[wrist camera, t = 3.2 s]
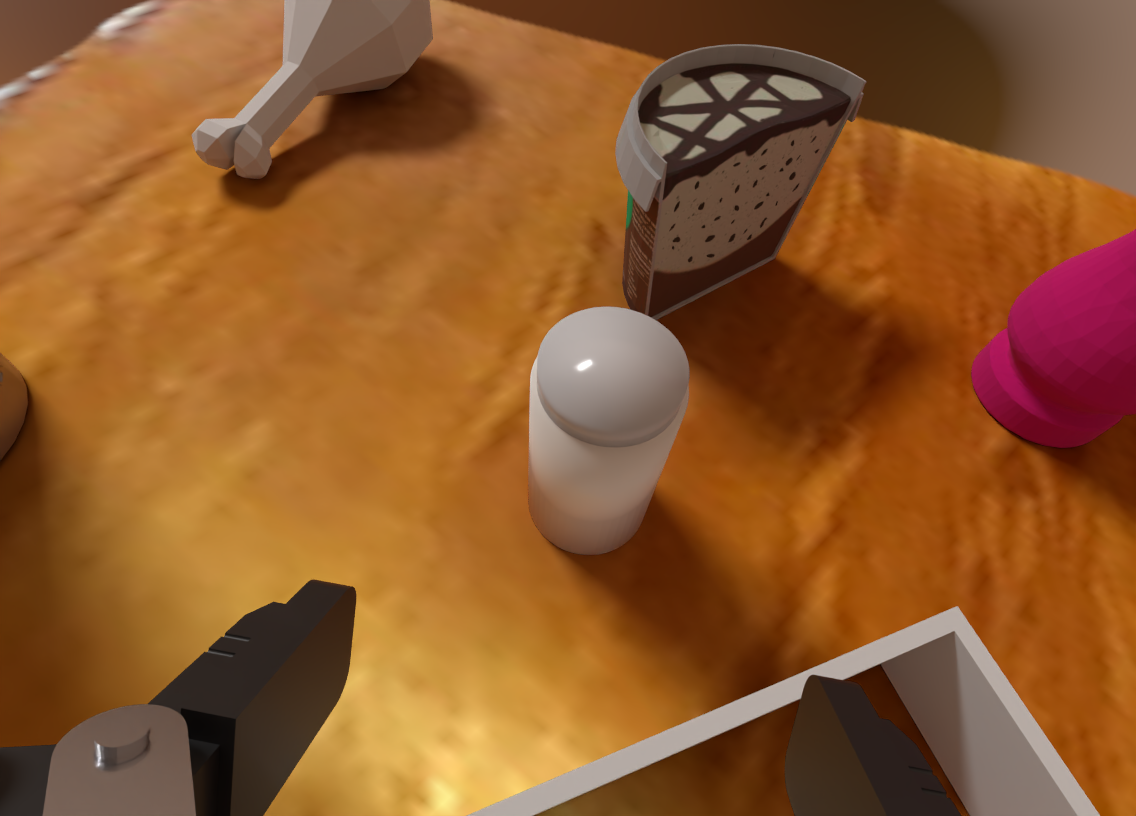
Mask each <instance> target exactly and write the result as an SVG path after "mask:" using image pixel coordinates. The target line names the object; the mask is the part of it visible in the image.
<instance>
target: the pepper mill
mask: <svg viewBox="0 0 1136 816" xmlns="http://www.w3.org/2000/svg"><path fill="white" fill-rule="evenodd" d="M971 376H972V382H973V387H974V390H975V392H976V394H977V396H978V398H979V400H980V401H981V403H982V404H983V405H984V407H985V408H986V410H987V411H988V412H989V413H990V414H991V415H992V416H993V417H994V418H995V419H996V420H997V421H999V422H1000V423H1001V424H1002V425H1003V426H1004V427H1005V428H1007V429H1009V430H1010V431H1012V432H1014V433H1015V434H1017V435H1019V436H1021V437H1022V438H1024V439H1026V440H1029V441H1032V442H1035V443H1038V444H1041V445H1044V446H1051V447H1058V448H1069V447H1076V446H1080V445H1083V444H1086V443H1088V442H1090V441H1092V440H1093V439H1095V438H1096V437H1098V436H1099V435H1101V434H1102V433H1103V432H1105V431H1106V430H1108V429H1109V428H1111V427H1112V426H1114V425H1115V424H1117V423H1118V422H1119V421H1120V420H1121V419H1122V417H1123V416H1124V415H1131V414H1136V229H1135V230H1134V231H1132V232H1130V233H1129V234H1126V235H1124V236H1122V237H1120V238H1118V239H1116V240H1114V241H1111V242H1109V243H1107V244H1105V245H1102V246H1100V247H1097V248H1094V249H1092V250H1089V251H1087V252H1084V253H1082V254H1080V255H1077V256H1075V257H1073V258H1070V259H1068V260H1066V261H1065V262H1063V263H1061V264H1059V265H1058V266H1056V267H1054V268H1053V269H1051V270H1049V271H1047V272H1046V273H1044V274H1043V275H1042V276H1040V277H1039V278H1038V279H1037V280H1035V281H1034V282H1033V283H1032V284H1031V285H1030V286H1029V287H1028V288H1026V289H1025V290H1024V291H1023V292H1022V293H1021V294H1020V295H1019V297H1018V298H1017V299H1016V301H1015V302H1014V304H1013V306H1012V307H1011V310H1010V313H1009V317H1008V328H1006V329H1004V330H1002V331H1001V332H1000V333H998V334H997V335H996V336H995V337H994V338H993V339H992V340H991V341H990V342H989V343H988V344H987V345H986V347H985V348H984V349H983V350H982V351H981V352H980V353H979V354H978V355H977V356H976V358H975V360H974V362H973V366H972V372H971Z"/></svg>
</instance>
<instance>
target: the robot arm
mask: <svg viewBox="0 0 1136 816" xmlns="http://www.w3.org/2000/svg"><path fill="white" fill-rule="evenodd" d="M27 406H28V398H27V386H26V384H25V382H24V380H23V378H22V375H21V373H20V372H19V371H18V370H17V368H16V367H15V366H14V365H13V364H12V363H11V362H10V361H9V360H8V359H7V358H6V357H4V356H3V355H2V354H1V353H0V461H1V459H2V458H3V457H4V455H5V454H6V453H7V451H8V450H9V449H10V447H11V446H12V444H13V443H14V442H15V440H16V438H17V436H18V433H19V431H20V429H21V427H22V425H23V423H24V420H25V415H26V410H27ZM355 607H356V591H355V588H354V587H351V586H346V585H340V584H335V583H330V582H324V581H319V580H310V581H309V582H308V583H306V584H305V585H304V586H303V587H302V588H301V589H300V590H299V591H298V592H297V593H296V594H295V595H294V596H293V597H292V598H291V599H290V600H289V601H288V602H287V603H286V604H282V603H277V602H272V603H270V604H268V605H266V606H264V607H261V608H259V609H257V610H255V611H253V612H251V613H248V614H246V615H245V616H244V617H242V618H241V619H240V620H239V621H238V622H237V623H236V624H235V625H234V626H233V627H231V628H230V629H229V630H228V631H227V632H226V633H225V636H224V637H221V638H219V639H218V640H217V641H216V642H215V643H214V644H213V645H212V646H211V647H210V648H209V650H208V652H204V653H203V654H202V655H201V656H200V657H199V658H197V659H196V660H195V661H194V662H193V663H192V664H191V665H190V666H189V667H188V668H187V669H185V670H184V671H183V672H182V673H181V674H180V675H179V676H178V677H177V678H176V679H174V680H173V681H172V682H171V683H170V684H169V685H168V686H167V687H166V688H165V689H163V690H162V691H161V692H160V693H159V694H158V695H157V696H156V697H155V698H154V699H153V700H151V701H150V702H149V703H148V704H141V705H131V706H124V707H120V708H116V709H112V710H109V711H106V712H103V713H100V714H98V715H96V716H93V717H91V718H89V719H87V720H85V721H84V722H82V723H80V724H79V725H77V726H76V727H74V728H73V729H71V730H70V731H69V732H68V733H67V734H66V735H65V736H64V737H63V738H62V739H61V740H60V741H59V742H58V744H55V745H41V746H22V747H2V748H0V816H263V815H264V814H265V812H266V811H267V809H268V808H269V806H270V804H271V803H272V801H273V800H274V798H275V797H276V795H277V794H278V792H279V791H280V789H281V788H282V786H283V785H284V783H285V782H286V780H287V779H288V777H289V776H290V774H291V772H292V771H293V769H294V768H295V766H296V765H297V763H298V762H299V760H300V759H301V757H302V756H303V754H304V753H305V751H306V750H307V748H308V747H309V745H310V744H311V742H312V740H313V739H314V737H315V736H316V734H317V733H318V731H319V730H320V728H321V727H322V725H323V724H324V722H325V721H326V719H327V718H328V716H329V715H330V713H331V712H332V710H333V708H334V707H335V705H336V704H337V702H338V700H339V698H340V696H341V694H342V691H343V689H344V686H345V683H346V680H347V676H348V672H349V666H350V657H351V647H352V637H353V627H354V617H355ZM785 783H786V789H787V793H788V796H789V800H790V803H791V806H792V809H793V812H794V815H795V816H961V815H960V813H959V812H958V810H957V808H956V807H955V805H954V804H953V802H952V801H951V799H950V798H947V797H946V791H945V789H944V788H943V786H942V785H941V783H940V782H939V780H938V778H937V777H936V776H934V775H933V774H932V769H931V767H930V766H929V764H928V763H927V761H926V760H925V758H924V756H923V755H922V753H921V752H920V750H919V749H918V747H917V745H916V744H915V743H914V742H913V741H912V740H910V739H909V738H908V737H907V736H906V735H905V734H904V733H903V732H902V731H901V730H900V729H899V728H897V727H896V726H895V725H894V724H893V723H892V722H891V721H890V720H887V719H881V718H879V716H878V715H877V713H876V711H875V709H874V708H873V706H872V704H871V703H870V701H869V699H868V698H867V696H866V694H865V693H864V691H863V689H862V688H861V686H860V685H859V684H858V683H856V682H850V681H845V680H840V679H834V678H829V677H824V676H818V675H810V676H809V677H808V679H807V680H806V683H805V685H804V688H803V692H802V696H801V700H800V703H799V707H798V711H797V714H796V718H795V722H794V726H793V729H792V733H791V737H790V740H789V744H788V748H787V752H786V758H785Z"/></svg>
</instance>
